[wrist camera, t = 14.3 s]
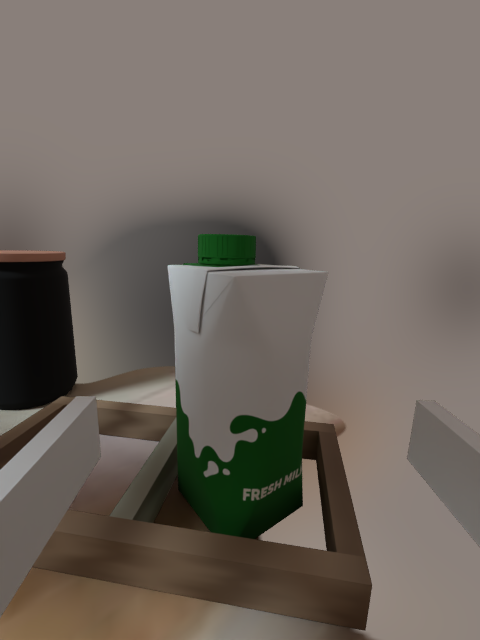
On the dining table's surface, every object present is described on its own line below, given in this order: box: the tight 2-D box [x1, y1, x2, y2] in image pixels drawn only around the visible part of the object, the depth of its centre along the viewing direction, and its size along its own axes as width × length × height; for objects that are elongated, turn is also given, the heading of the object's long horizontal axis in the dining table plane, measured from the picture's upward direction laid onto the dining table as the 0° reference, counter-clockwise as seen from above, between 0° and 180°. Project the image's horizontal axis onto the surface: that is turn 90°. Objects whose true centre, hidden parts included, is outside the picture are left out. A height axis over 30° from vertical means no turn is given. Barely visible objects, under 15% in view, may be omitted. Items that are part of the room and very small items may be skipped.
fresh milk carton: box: [168, 234, 328, 539], centre depth 23 cm, size 9×9×20 cm
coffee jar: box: [0, 250, 77, 410], centre depth 40 cm, size 11×11×18 cm
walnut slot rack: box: [0, 396, 372, 630], centre depth 26 cm, size 28×15×3 cm, turn 81°
